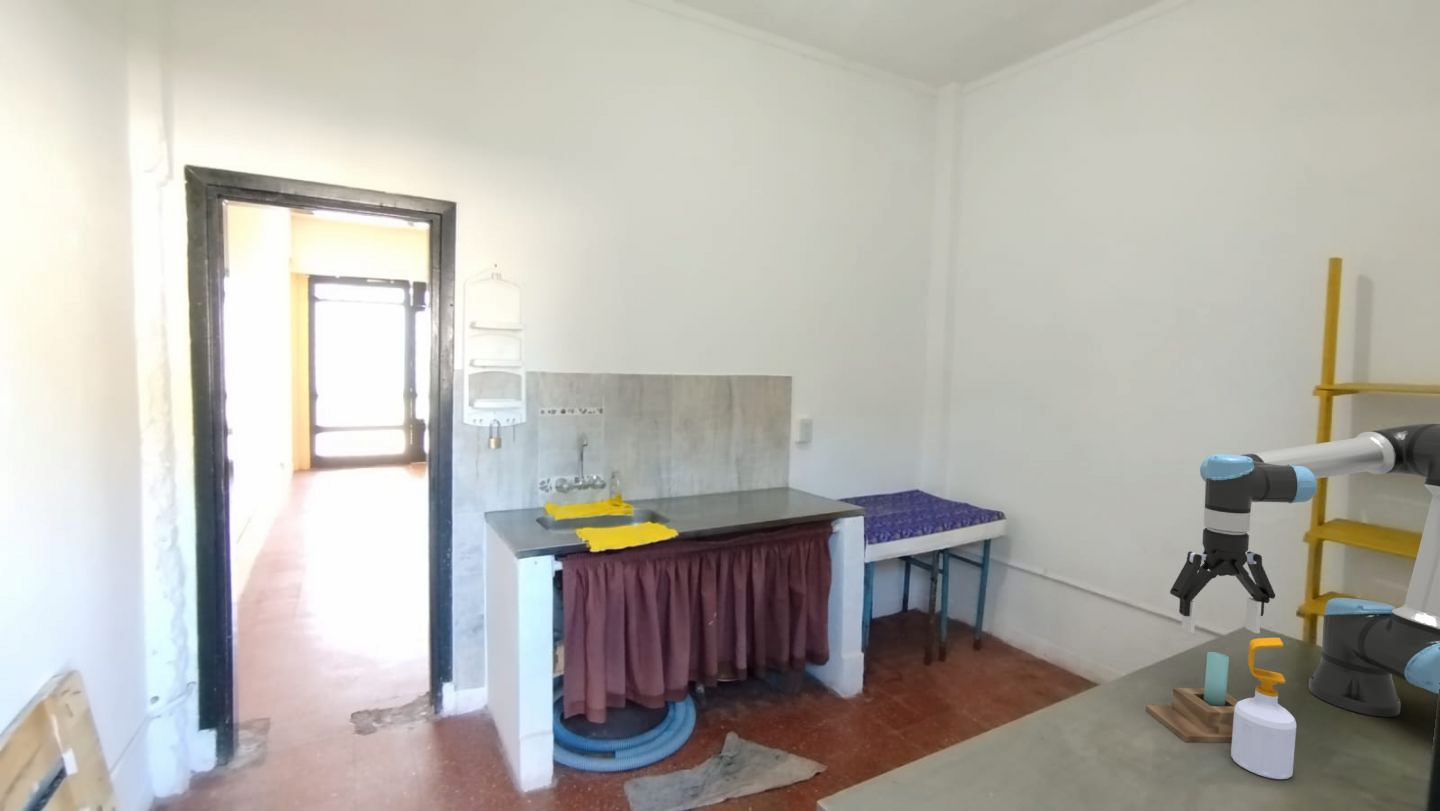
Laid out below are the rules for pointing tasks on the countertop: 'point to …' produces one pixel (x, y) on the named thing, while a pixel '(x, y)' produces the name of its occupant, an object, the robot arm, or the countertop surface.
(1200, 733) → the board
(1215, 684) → the peg
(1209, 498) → the robot arm
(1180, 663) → the countertop surface
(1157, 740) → the countertop surface
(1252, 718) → the soap bottle
